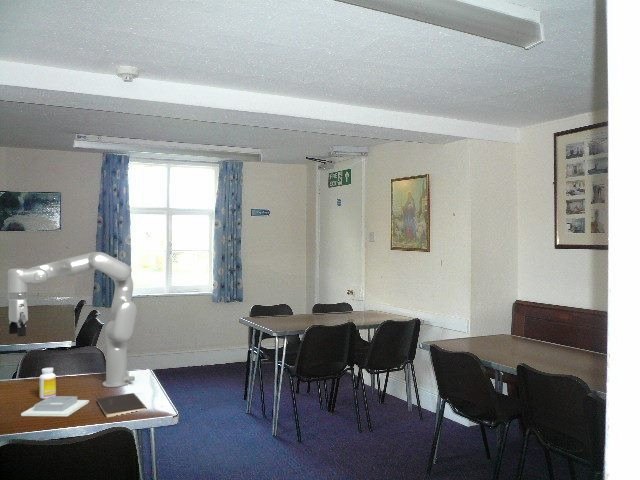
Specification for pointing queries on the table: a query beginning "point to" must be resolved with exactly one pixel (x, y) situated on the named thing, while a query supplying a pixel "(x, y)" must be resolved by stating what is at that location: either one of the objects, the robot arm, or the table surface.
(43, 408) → the holder board
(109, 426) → the table surface
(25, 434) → the table surface
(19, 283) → the robot arm
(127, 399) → the hardcover book
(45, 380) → the supplement bottle
